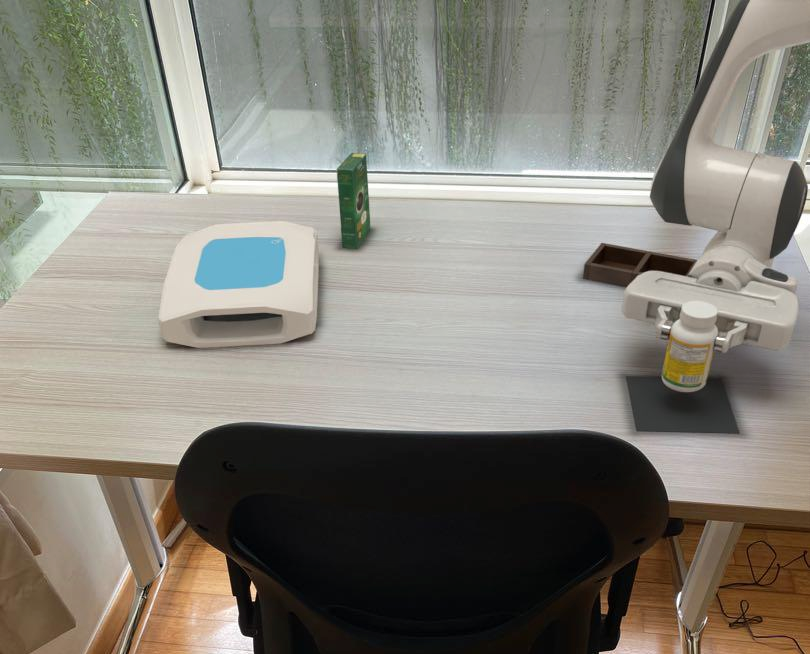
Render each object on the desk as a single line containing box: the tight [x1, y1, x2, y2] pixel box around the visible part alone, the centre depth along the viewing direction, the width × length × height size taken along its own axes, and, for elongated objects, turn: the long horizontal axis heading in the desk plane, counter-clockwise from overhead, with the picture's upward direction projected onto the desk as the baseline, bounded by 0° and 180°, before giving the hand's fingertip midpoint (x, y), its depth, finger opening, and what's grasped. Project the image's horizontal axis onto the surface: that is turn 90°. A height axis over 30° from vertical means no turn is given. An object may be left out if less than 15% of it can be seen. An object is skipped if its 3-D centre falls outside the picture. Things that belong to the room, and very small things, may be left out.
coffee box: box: [335, 152, 371, 250], centre depth 142 cm, size 8×3×13 cm, turn 165°
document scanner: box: [157, 220, 320, 349], centre depth 130 cm, size 21×28×6 cm
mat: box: [625, 375, 741, 435], centre depth 108 cm, size 12×12×1 cm
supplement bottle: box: [661, 301, 718, 392], centre depth 103 cm, size 5×5×10 cm
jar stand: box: [582, 242, 698, 288], centre depth 132 cm, size 15×8×3 cm, turn 63°
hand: (691, 340), depth 101 cm, fingers closed on supplement bottle, 5 cm apart
